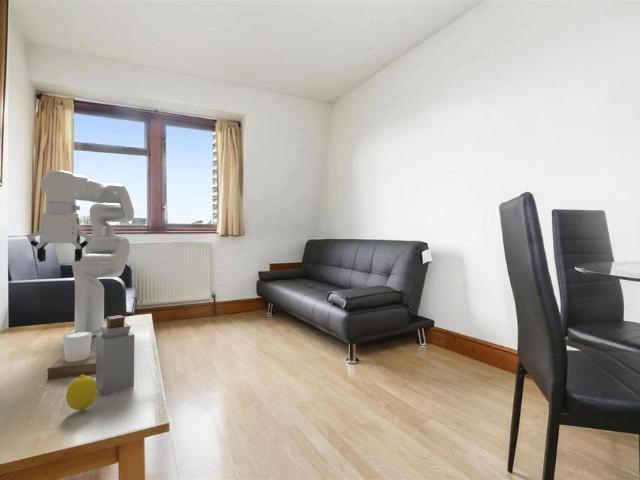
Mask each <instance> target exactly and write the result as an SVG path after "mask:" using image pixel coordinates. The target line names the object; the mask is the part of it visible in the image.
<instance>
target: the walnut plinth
mask: <svg viewBox="0 0 640 480" xmlns="http://www.w3.org/2000/svg"><path fill="white" fill-rule="evenodd" d="M91 374H94V375H96V350H90V355H89V358H87V359H85V360H82V361H76V362H67V361H66V360H65V353H64V354H63V355H61V356H60V357H59V358H58V359H57V360H55V361H54V362H53V363H52V364H51V365H50V366H49V367H48V368H47V380H55V379H56V380H57V379H64V378H73V377H80V375H85V376H92V375H91Z"/></svg>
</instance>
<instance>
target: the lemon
mask: <svg viewBox="0 0 640 480" xmlns="http://www.w3.org/2000/svg"><path fill="white" fill-rule="evenodd" d="M97 395H98V390H97V385H96V379H94V378H93V377H92V376H91V375H80V376H77V377H76V378H74V379H73V380H72V381H71V382H70V383H69V385H68V387H67V390H66V394H65V396H66V397H65V398H66V403H67V405H68V406H69V408H71V409H72V410H75V411H78V412H80V413H81V412H83V411H85V410H86V409H87V408H89V407H90V406H91V405H92V404H93V403H94V402H95V400H96V398H97Z"/></svg>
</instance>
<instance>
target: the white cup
mask: <svg viewBox="0 0 640 480" xmlns="http://www.w3.org/2000/svg"><path fill="white" fill-rule="evenodd" d="M92 338H93V336H92V332H75V333H70V332H69V333H67V334H64V335H63V336H62V340H63V341H62V343H63V350H64V354H65V360H66V361H67V362H76V361H82V360H85V359H87V358H89V355H90V351H91V348H92V347H91V345H92Z"/></svg>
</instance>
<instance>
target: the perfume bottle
mask: <svg viewBox="0 0 640 480" xmlns="http://www.w3.org/2000/svg"><path fill="white" fill-rule="evenodd" d="M100 327H101V331H102V334H97V335H96V336H95V337H96V338H95V343H96V344H95V351H96V374H95V382H96V385H97V392H99V394H101V396H103V397H106V396H110V395H112V394H118V393H119V392H123V391H127V390H130V389H134V388H135V334H134V333H133V332H130V329H131V325H130V324H128V323H126V322H125V316H123V315H121V314H119V315H112V316H106V324H104V325H103V326H100ZM133 387H134V388H133Z"/></svg>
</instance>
